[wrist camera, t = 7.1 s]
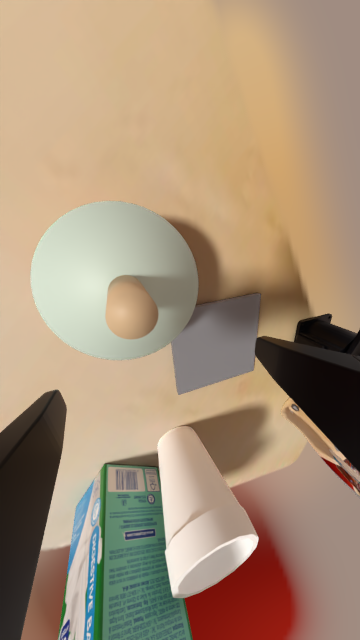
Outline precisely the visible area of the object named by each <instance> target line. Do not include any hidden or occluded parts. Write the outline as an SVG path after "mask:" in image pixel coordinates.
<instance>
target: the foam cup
mask: <svg viewBox="0 0 360 640" xmlns="http://www.w3.org/2000/svg"><path fill="white" fill-rule="evenodd" d="M157 446H158V459H159V470H160V481H161V492H162V504H163V515H164V526H165V537H166V550H165V556H166V562H167V568H168V573H169V579H170V585H171V591H172V595H173V598H185V597H188V596H191V595H194V594H197V593H200V592H201V591H203V590H205V589H207V588H209V587H211V586H212V585H214V584H216V583H217V582H219V581H220V580H222V579H223V578H225V577H226V576H227V575H229V574H230V573H232V572H233V571H234V570H235V569H236V568H238V567H239V566H240V565H241V564H242V563H243V562H244V561H245V560H246V559H247V558H248V557H249V556H250V554H251V553H252V552H253V551H254V549H255V548H256V546H257V543H258V539H259V537H258V535H257V534H256V531H255V529H254V527H253V525H252V523H251V521H250V519H249V517H248V516H247V513H246V511H245V509H244V508H243V507H241V506H240V504H239V503H238V501H237V499H236V498H235V496H234V494H233V493H232V491H231V490H230V488H229V486H228V485H227V483H226V481H225V480H224V478H223V476H222V475H221V473H220V471H219V470H218V468H217V467H216V465H215V463H214V462H213V460H212V458H211V457H210V455H209V453H208V452H207V450H206V448H205V447H204V445H203V444H202V442H201V440H200V439H199V437H198V435H197V434H196V433H195V431H194V430H193V429H192V428H191V427H188V426H180V427H175V428H173V429H172V430H170V431H168V432H166V433H165V434H164V435H163V436H162V437H161V438H160V441H159V443H158V445H157Z"/></svg>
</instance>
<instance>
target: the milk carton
mask: <svg viewBox="0 0 360 640" xmlns="http://www.w3.org/2000/svg"><path fill="white" fill-rule="evenodd" d="M165 550H166V537H165V526H164V515H163V504H162V492H161V481H160V475H159V470H158V467H146V466H129V465H113V464H104V466H103V467H102V469H101V470H100V472H99V473H98V475H97V476H96V478H95V479H94V481H93V483H92V484H91V486H90V487H89V489H88V490H87V492H86V493H85V495H84V496H83V498H82V499H81V501H80V502H79V504H78V505H77V507H76V512H75V519H74V527H73V534H72V541H71V548H70V556H69V563H68V571H67V578H66V586H65V592H64V600H63V607H62V614H61V622H60V629H59V636H58V640H193V639H192V634H191V629H190V624H189V619H188V614H187V609H186V604H185V599H184V598H173V595H172V591H171V585H170V579H169V573H168V568H167V562H166V556H165Z"/></svg>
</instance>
